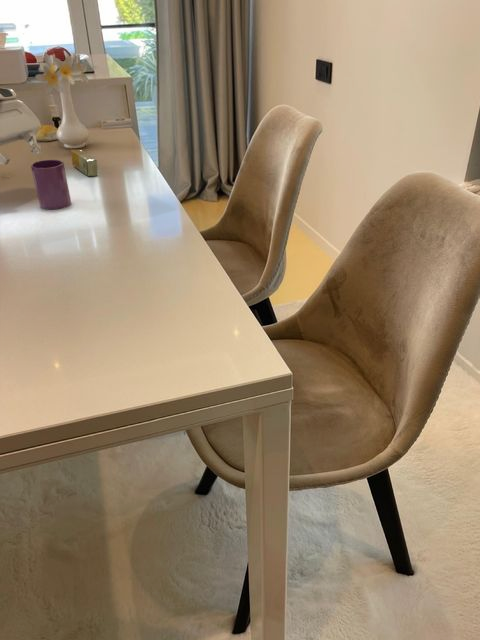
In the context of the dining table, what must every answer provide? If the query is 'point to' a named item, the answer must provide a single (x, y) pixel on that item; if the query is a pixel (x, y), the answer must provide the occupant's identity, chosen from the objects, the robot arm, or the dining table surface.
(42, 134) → the bread roll
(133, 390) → the dining table surface
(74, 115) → the flower vase
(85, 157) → the medication box
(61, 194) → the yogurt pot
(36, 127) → the robot arm
